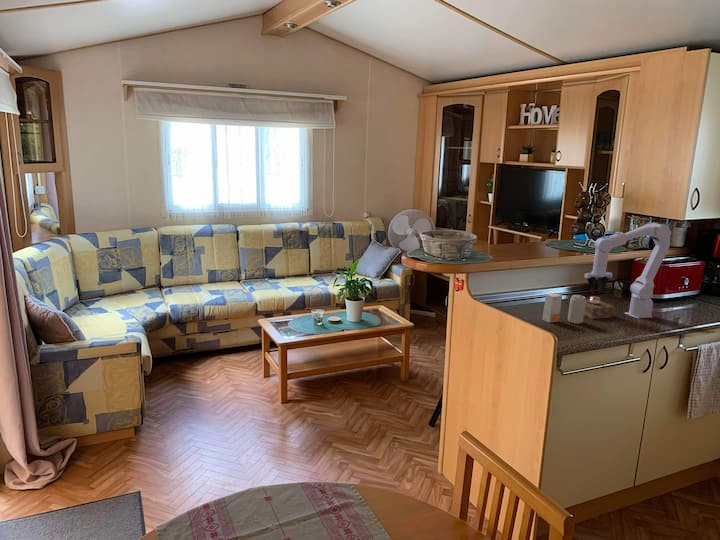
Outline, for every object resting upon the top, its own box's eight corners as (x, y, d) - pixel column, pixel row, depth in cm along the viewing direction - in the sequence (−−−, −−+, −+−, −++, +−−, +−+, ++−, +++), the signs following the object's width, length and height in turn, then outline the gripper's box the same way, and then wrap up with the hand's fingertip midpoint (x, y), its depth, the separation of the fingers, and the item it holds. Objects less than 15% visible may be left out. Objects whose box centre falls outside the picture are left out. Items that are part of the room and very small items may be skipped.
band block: (593, 308, 269) (595, 299, 268) (613, 317, 257) (615, 306, 256) (571, 310, 264) (573, 300, 263) (591, 318, 253) (593, 308, 251)
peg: (594, 303, 262) (595, 295, 262) (600, 306, 258) (602, 298, 258) (586, 304, 261) (587, 296, 260) (593, 306, 257) (594, 298, 256)
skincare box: (549, 323, 243) (552, 296, 241) (541, 320, 247) (545, 294, 244) (559, 321, 246) (562, 295, 243) (551, 318, 250) (555, 293, 247)
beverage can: (583, 325, 243) (587, 299, 240) (568, 323, 244) (572, 297, 241) (581, 320, 249) (584, 295, 246) (566, 319, 250) (569, 293, 247)
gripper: (606, 261, 261) (601, 289, 264) (581, 262, 256) (577, 290, 259) (617, 265, 255) (612, 293, 258) (592, 266, 250) (588, 294, 253)
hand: (595, 292), depth 258 cm, fingers open, 4 cm apart
